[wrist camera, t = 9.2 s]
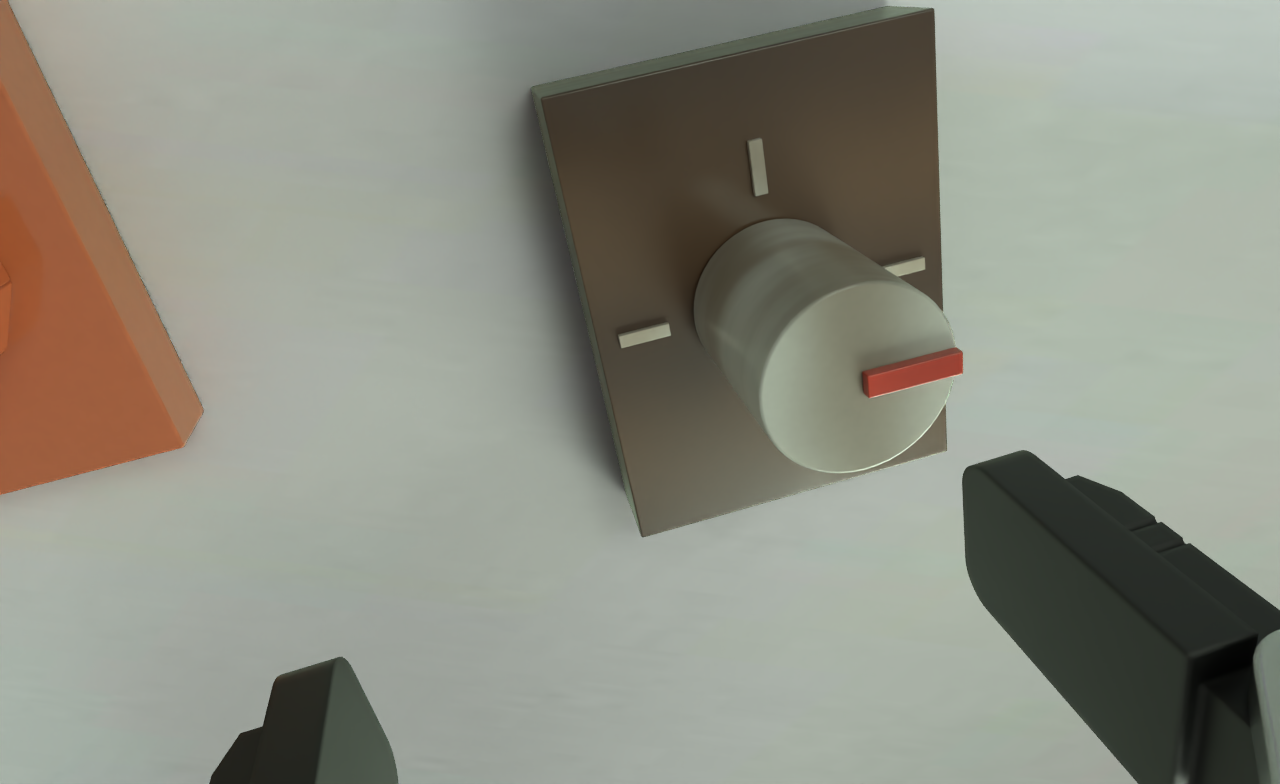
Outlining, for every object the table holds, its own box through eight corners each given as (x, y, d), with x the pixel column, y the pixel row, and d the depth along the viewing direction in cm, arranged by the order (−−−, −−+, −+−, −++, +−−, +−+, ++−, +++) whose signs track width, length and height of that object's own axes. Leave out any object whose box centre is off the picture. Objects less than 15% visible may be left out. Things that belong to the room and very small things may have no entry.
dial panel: (530, 86, 22) (540, 98, 20) (888, 5, 23) (938, 7, 21) (626, 495, 28) (643, 541, 26) (909, 416, 29) (950, 454, 27)
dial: (705, 395, 24) (775, 504, 19) (680, 239, 22) (751, 315, 17) (857, 355, 25) (965, 451, 20) (847, 200, 23) (965, 262, 18)
